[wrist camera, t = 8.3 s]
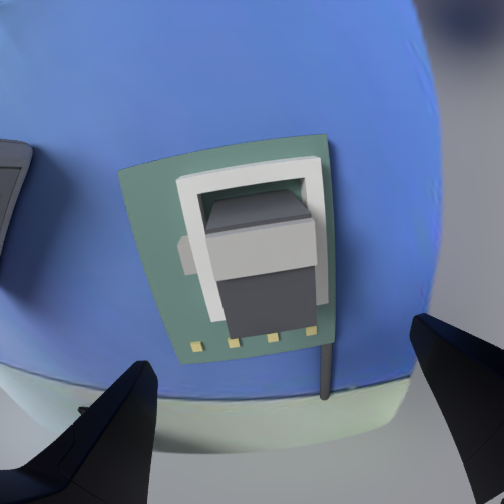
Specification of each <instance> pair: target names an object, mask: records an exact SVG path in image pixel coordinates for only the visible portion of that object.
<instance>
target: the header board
mask: <svg viewBox="0 0 504 504" xmlns="http://www.w3.org/2000/svg"><path fill="white" fill-rule="evenodd" d="M117 173H118V178H119V182H120V187H121V191H122V195H123V199H124V203H125V207H126V211H127V214H128V218H129V222H130V225H131V229H132V232H133V236H134V239H135V243H136V246H137V249H138V253H139V256H140V259H141V262H142V265H143V268H144V271H145V274H146V277H147V280H148V283H149V286H150V289H151V292H152V294H153V297H154V300H155V303H156V305H157V308H158V311H159V313H160V316H161V319H162V321H163V324H164V326H165V329H166V331H167V334H168V336H169V339H170V341H171V344H172V346H173V348H174V351H175V353H176V355H177V358H178V360H179V362H180V365H181V364H194V363H205V362H215V361H224V360H233V359H241V358H249V357H256V356H263V355H269V354H275V353H282V352H287V351H293V350H299V349H304V348H309V347H314V346H319V345H324V344H329V343H333V342H335V318H336V258H335V228H334V209H333V194H332V181H331V169H330V159H329V149H328V140H327V134H317V135H305V136H294V137H285V138H276V139H268V140H261V141H253V142H247V143H240V144H234V145H228V146H222V147H216V148H211V149H206V150H200V151H195V152H191V153H186V154H181V155H177V156H172V157H168V158H164V159H159V160H155V161H151V162H147V163H143V164H140V165H136V166H132V167H128V168H125V169H122V170H119V171H117ZM283 189H289V190H290V191H291V192H292V193H293V194H294V195H295V196H296V197H297V198H298V199H299V201H300V202H301V203H302V204H303V205H304V206H305V207H306V208H307V209H308V210H309V211H310V212H311V216H312V219H313V220H314V221H315V232H316V248H317V265H315V278H316V304H317V326H312V327H307V328H301V329H296V330H290V331H284V332H278V333H272V334H266V335H259V336H252V337H245V338H238V339H231V337H230V333H229V329H228V325H227V321H226V317H225V313H224V309H223V305H222V301H221V297H220V293H219V289H218V285H217V281H215V280H214V276H213V272H212V267H211V263H210V259H209V254H208V250H207V245H206V241H205V236H206V231H205V229H206V226H207V222H208V219H209V216H210V213H211V210H212V206H213V203H214V200H219V199H225V198H231V197H237V196H243V195H249V194H256V193H262V192H269V191H276V190H283Z"/></svg>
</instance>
